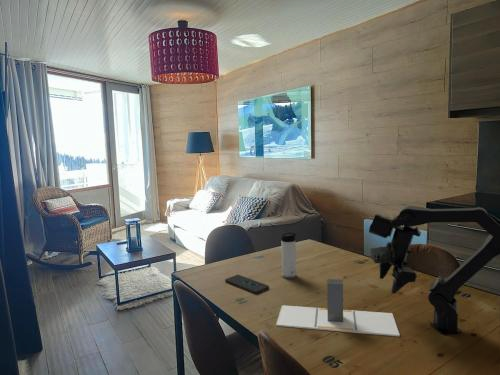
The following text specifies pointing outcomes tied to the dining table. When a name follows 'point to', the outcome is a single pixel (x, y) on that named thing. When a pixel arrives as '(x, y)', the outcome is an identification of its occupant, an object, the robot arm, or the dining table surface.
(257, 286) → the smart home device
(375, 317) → the board
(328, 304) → the translucent grey tumbler
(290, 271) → the travel mug
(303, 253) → the dining table surface
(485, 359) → the dining table surface
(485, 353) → the dining table surface
